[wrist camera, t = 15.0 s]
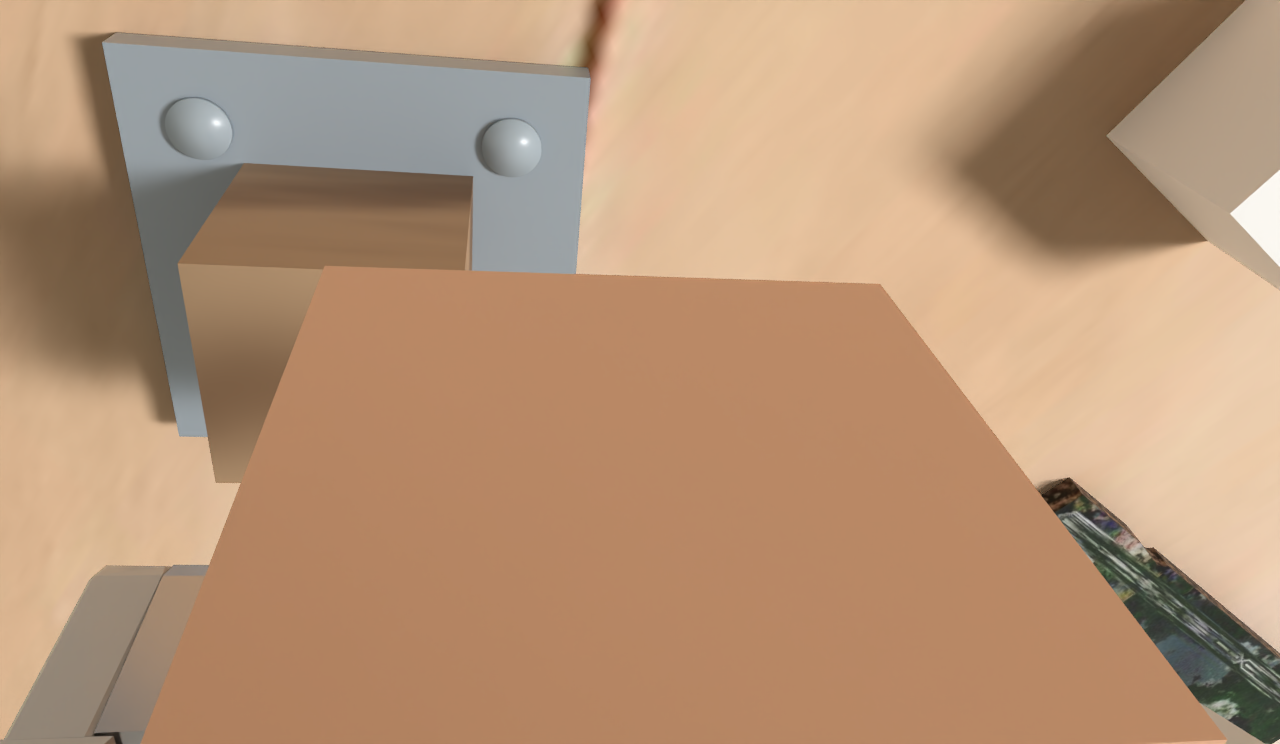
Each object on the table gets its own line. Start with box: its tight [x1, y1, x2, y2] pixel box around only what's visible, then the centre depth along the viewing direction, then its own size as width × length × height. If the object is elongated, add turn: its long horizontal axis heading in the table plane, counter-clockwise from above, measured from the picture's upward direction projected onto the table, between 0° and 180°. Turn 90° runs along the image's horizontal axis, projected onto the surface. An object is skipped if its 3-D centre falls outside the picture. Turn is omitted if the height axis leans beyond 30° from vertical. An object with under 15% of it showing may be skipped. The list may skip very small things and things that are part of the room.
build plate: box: [102, 32, 591, 437], centre depth 27 cm, size 12×12×1 cm
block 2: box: [140, 266, 1227, 744], centre depth 8 cm, size 5×5×5 cm
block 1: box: [177, 163, 473, 483], centre depth 24 cm, size 6×6×6 cm
